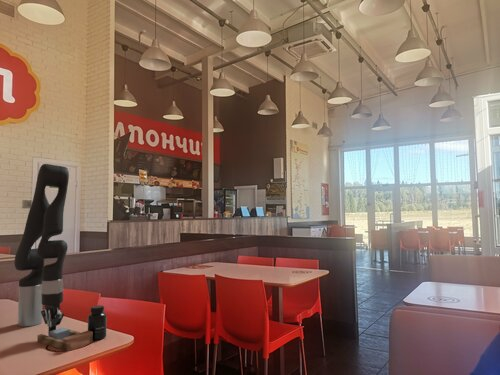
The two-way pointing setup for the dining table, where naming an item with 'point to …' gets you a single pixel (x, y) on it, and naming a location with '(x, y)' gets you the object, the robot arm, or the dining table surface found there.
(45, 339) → the track
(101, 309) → the supplement bottle
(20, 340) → the dining table surface
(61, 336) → the block
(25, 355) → the dining table surface
